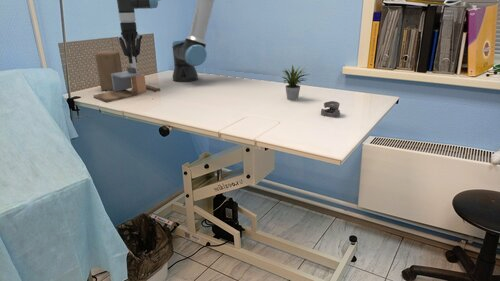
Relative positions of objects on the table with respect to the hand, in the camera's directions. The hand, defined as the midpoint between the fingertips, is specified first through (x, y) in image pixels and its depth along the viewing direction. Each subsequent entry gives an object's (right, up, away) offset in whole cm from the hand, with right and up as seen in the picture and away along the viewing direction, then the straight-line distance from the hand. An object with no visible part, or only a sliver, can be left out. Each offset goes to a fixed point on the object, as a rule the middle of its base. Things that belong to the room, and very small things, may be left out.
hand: (134, 69), depth 187 cm
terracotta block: (+1, -11, +5) cm, 12 cm away
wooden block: (-16, -8, +13) cm, 22 cm away
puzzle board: (-3, -13, +1) cm, 13 cm away
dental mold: (+94, -27, -37) cm, 105 cm away
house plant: (+80, -18, -15) cm, 84 cm away
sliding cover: (-3, -11, +1) cm, 12 cm away
